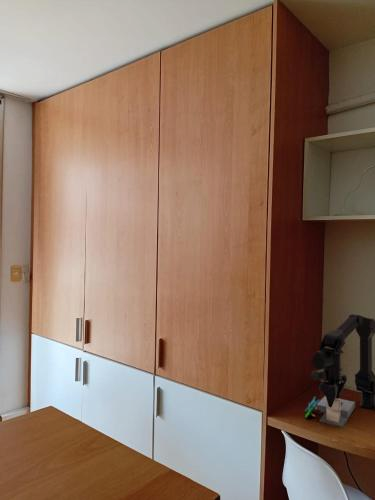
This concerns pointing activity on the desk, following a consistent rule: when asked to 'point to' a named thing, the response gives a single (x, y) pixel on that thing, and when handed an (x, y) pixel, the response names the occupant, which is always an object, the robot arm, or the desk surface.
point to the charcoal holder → (345, 406)
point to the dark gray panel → (339, 424)
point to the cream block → (334, 411)
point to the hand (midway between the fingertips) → (333, 403)
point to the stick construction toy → (312, 408)
